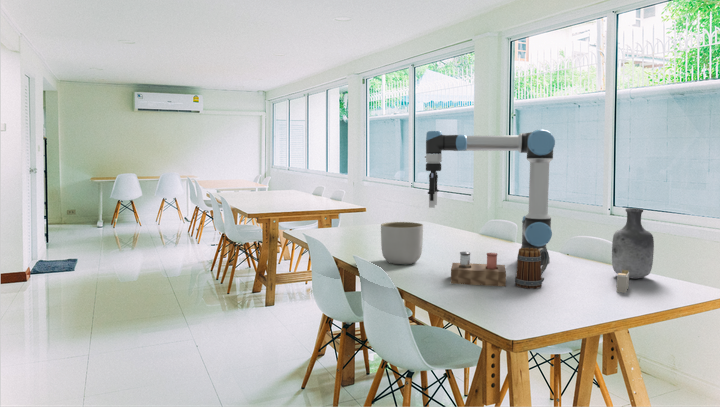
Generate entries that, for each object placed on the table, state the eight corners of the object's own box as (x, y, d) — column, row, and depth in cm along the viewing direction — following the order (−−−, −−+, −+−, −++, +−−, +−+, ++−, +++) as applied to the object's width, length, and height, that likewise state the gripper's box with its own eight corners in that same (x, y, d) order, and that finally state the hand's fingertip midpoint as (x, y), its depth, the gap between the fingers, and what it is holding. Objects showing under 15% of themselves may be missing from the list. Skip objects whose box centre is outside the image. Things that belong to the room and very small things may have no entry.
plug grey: (470, 272, 226) (470, 251, 225) (470, 274, 222) (470, 253, 221) (459, 272, 227) (460, 251, 226) (459, 274, 223) (459, 253, 222)
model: (616, 293, 206) (617, 273, 205) (619, 287, 215) (620, 268, 214) (625, 294, 204) (626, 274, 203) (628, 288, 213) (629, 269, 212)
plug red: (496, 273, 224) (497, 252, 223) (497, 276, 219) (497, 254, 218) (486, 273, 224) (486, 252, 224) (486, 275, 220) (486, 254, 219)
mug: (528, 290, 208) (529, 252, 207) (509, 284, 218) (510, 248, 216) (556, 285, 216) (557, 249, 214) (537, 280, 225) (538, 245, 223)
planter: (374, 265, 256) (374, 226, 254) (388, 257, 275) (388, 221, 273) (416, 268, 248) (416, 228, 246) (427, 260, 267) (427, 223, 266)
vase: (618, 271, 241) (621, 206, 238) (657, 277, 229) (660, 208, 227) (605, 277, 230) (607, 208, 227) (644, 283, 218) (648, 211, 215)
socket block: (504, 278, 228) (504, 264, 227) (505, 286, 214) (506, 271, 214) (452, 276, 233) (452, 262, 232) (450, 283, 219) (451, 269, 218)
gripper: (428, 162, 270) (427, 203, 272) (423, 163, 246) (422, 208, 248) (443, 162, 269) (442, 204, 271) (439, 163, 244) (438, 208, 246)
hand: (433, 206), depth 259 cm, fingers open, 13 cm apart
